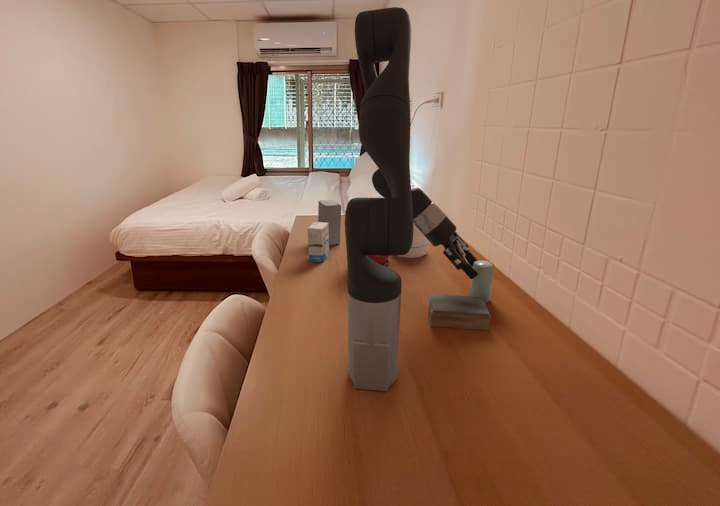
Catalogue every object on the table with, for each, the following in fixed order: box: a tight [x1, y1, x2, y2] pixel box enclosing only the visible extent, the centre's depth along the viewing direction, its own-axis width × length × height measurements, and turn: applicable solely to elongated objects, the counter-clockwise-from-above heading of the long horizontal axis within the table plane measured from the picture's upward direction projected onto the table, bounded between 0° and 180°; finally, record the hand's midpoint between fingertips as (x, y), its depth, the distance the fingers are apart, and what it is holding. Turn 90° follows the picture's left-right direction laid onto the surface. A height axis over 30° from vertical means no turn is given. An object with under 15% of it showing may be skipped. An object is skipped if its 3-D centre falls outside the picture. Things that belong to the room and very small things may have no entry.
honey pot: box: [397, 223, 428, 259], centre depth 130 cm, size 13×13×18 cm
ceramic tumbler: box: [469, 260, 495, 304], centre depth 96 cm, size 5×5×10 cm
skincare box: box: [317, 199, 342, 247], centre depth 139 cm, size 8×7×16 cm
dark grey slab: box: [428, 293, 492, 331], centre depth 88 cm, size 9×13×4 cm
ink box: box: [307, 221, 330, 264], centre depth 124 cm, size 9×5×12 cm, turn 168°
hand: (475, 270), depth 96 cm, fingers open, 8 cm apart
